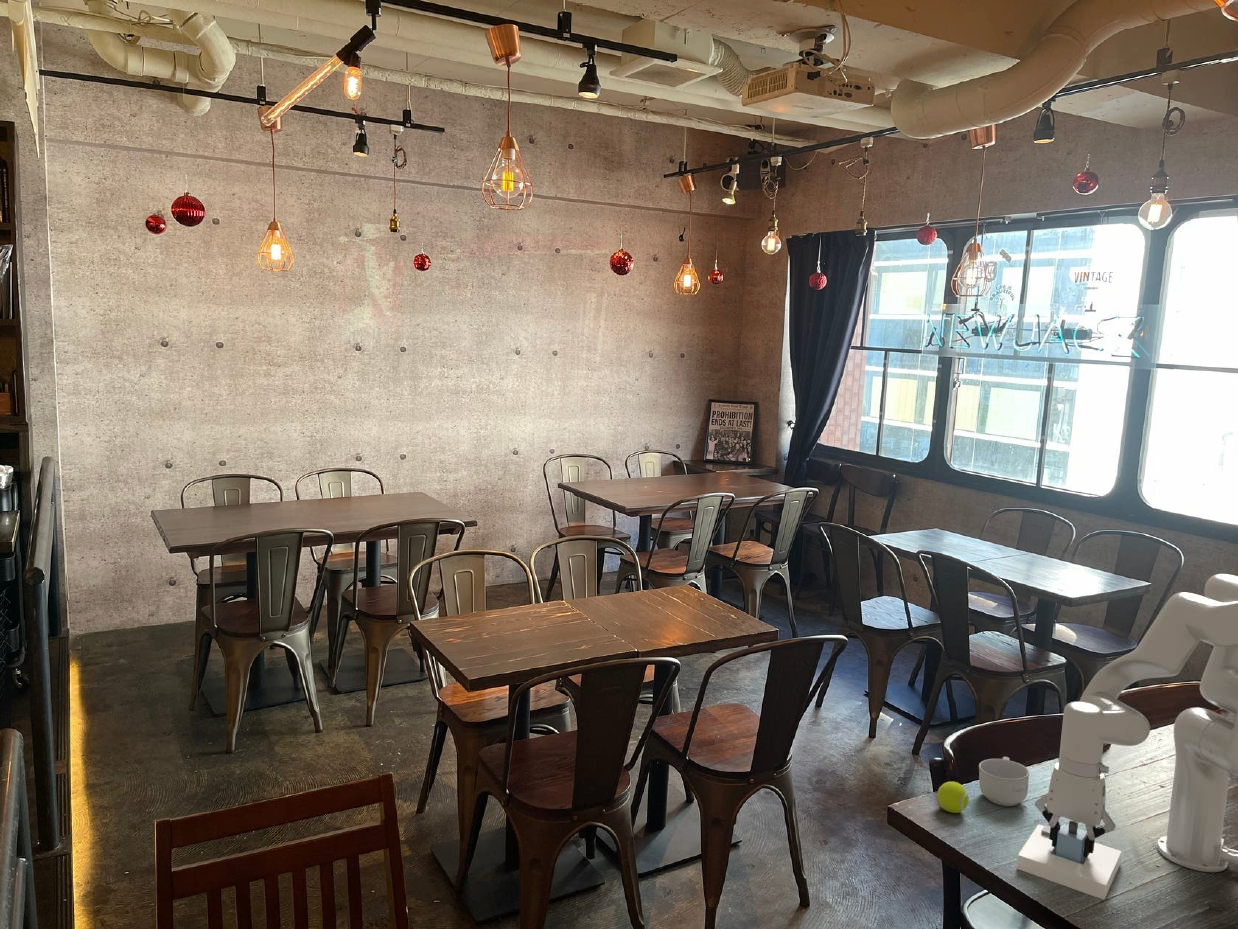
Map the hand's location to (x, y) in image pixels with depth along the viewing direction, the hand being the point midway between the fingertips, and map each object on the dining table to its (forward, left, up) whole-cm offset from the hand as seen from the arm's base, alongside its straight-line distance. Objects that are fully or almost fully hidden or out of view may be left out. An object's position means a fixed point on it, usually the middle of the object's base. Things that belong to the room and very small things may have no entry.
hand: (1070, 848), depth 187 cm
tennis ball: (+26, -7, -4) cm, 27 cm away
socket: (0, 0, -4) cm, 4 cm away
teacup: (+19, -22, -4) cm, 29 cm away
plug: (0, 0, -3) cm, 3 cm away
